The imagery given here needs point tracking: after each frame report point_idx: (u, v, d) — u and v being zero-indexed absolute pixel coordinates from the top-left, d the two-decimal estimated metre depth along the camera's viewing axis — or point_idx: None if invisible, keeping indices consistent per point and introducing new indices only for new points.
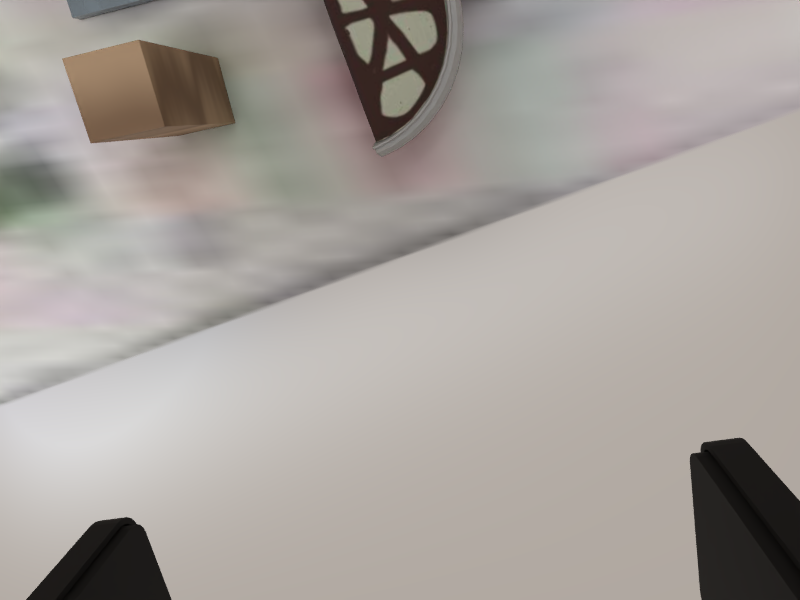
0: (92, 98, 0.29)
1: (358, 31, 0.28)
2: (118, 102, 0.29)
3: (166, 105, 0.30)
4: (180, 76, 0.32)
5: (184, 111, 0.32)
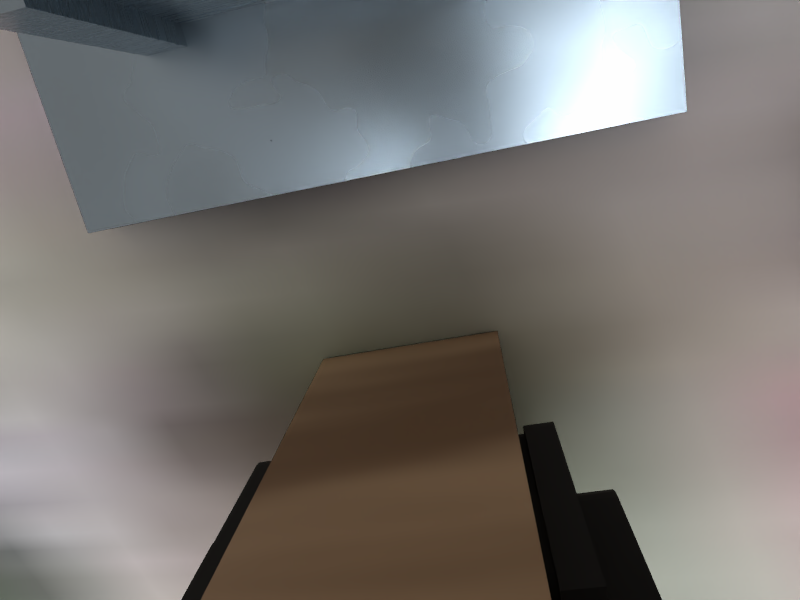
0: None
1: None
2: None
3: None
4: None
5: None
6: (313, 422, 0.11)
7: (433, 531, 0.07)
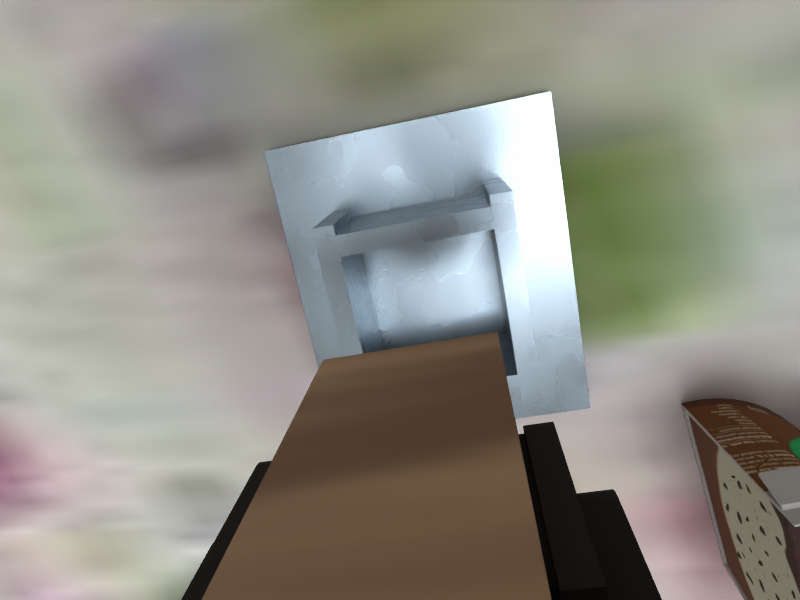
0: None
1: None
2: None
3: None
4: None
5: None
6: (313, 423, 0.11)
7: (433, 532, 0.07)
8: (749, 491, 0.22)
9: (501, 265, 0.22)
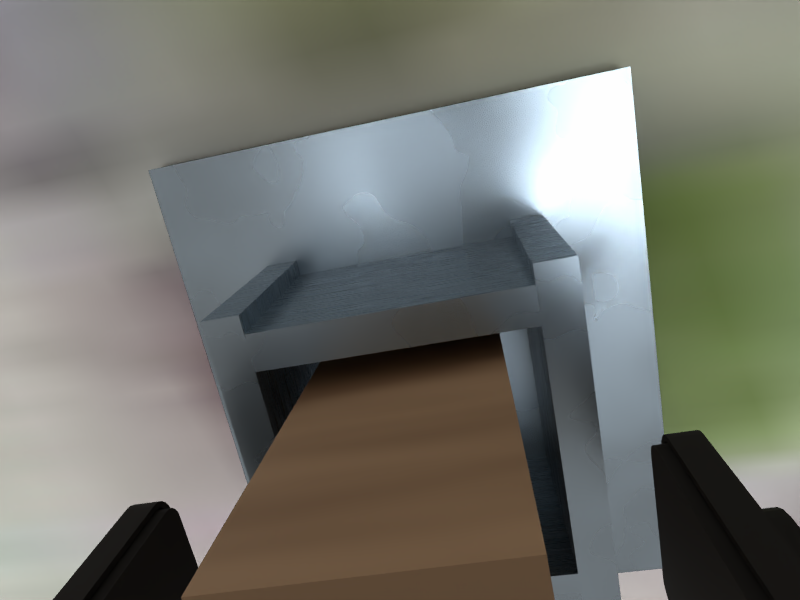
0: None
1: None
2: None
3: None
4: None
5: None
6: (338, 361, 0.13)
7: (437, 412, 0.10)
8: None
9: (553, 390, 0.12)
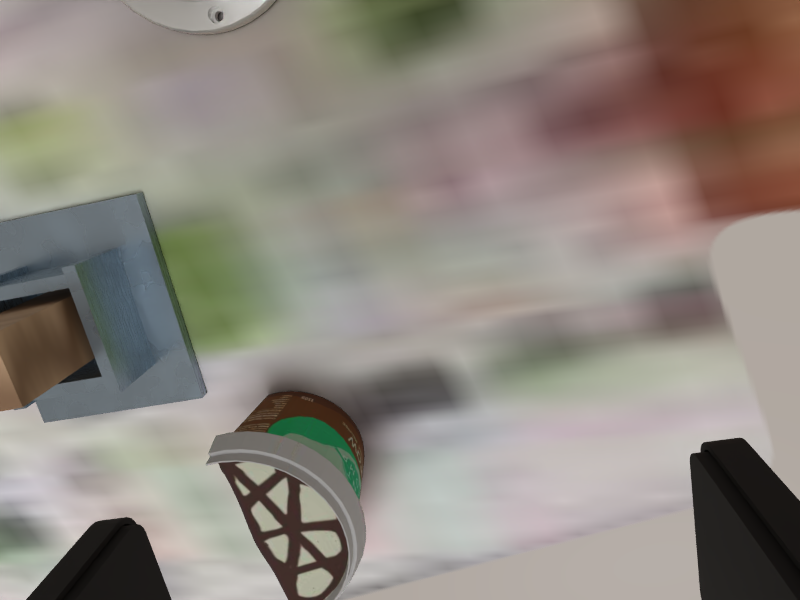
0: None
1: (275, 543, 0.34)
2: None
3: (26, 382, 0.31)
4: (49, 336, 0.33)
5: (52, 372, 0.33)
6: (23, 304, 0.37)
7: (19, 315, 0.33)
8: None
9: (78, 309, 0.35)
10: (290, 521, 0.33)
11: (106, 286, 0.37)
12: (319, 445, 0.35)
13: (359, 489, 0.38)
